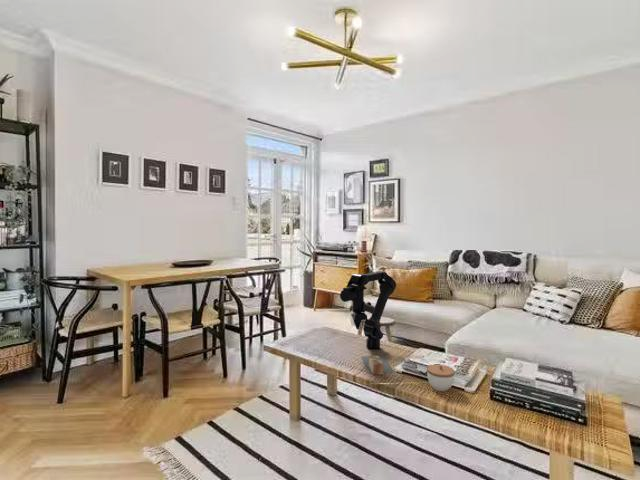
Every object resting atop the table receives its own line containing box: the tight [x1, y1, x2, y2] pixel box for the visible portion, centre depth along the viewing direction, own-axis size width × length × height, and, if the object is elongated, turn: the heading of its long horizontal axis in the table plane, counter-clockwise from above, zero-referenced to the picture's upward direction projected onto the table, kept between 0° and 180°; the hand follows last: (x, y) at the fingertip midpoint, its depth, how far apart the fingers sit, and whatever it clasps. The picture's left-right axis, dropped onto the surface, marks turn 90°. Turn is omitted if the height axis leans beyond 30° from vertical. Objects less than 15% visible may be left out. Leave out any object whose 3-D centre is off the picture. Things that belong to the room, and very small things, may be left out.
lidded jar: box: [427, 363, 456, 392], centre depth 150 cm, size 11×11×9 cm
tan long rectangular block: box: [368, 355, 384, 376], centre depth 166 cm, size 4×4×10 cm
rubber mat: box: [360, 355, 396, 375], centre depth 173 cm, size 12×20×1 cm, turn 4°
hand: (357, 329), depth 186 cm, fingers closed
